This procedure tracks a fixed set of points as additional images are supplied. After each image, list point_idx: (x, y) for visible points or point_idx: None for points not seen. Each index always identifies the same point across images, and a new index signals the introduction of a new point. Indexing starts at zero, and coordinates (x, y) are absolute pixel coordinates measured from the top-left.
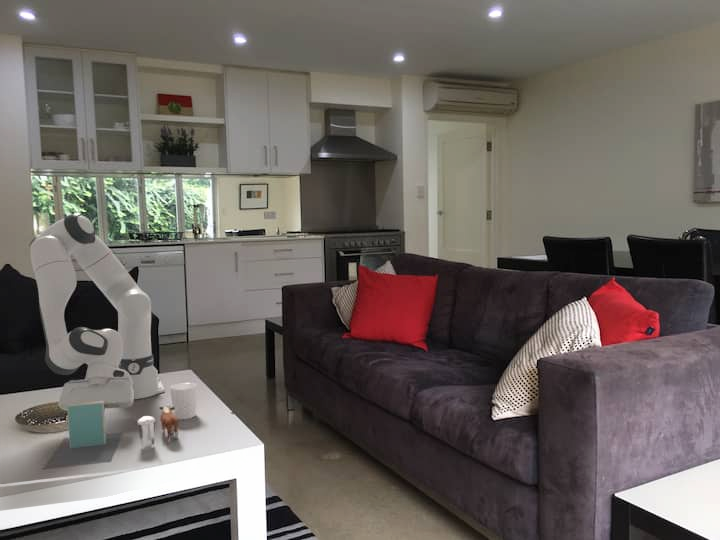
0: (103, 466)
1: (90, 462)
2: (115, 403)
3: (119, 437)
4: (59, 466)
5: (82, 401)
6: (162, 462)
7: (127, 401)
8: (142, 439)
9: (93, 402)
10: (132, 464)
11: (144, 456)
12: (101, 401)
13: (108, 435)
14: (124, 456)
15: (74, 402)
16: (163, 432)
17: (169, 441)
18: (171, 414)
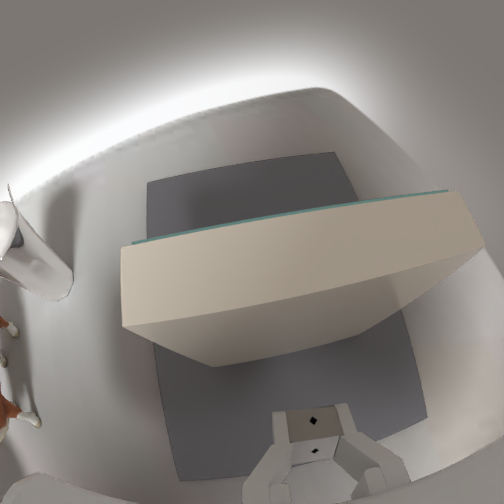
0: (166, 173)
1: (207, 178)
2: (123, 501)
3: (171, 417)
4: (295, 161)
5: (450, 488)
6: (39, 196)
7: (33, 474)
8: (45, 242)
9: (237, 264)
10: (95, 184)
11: (67, 231)
12: (141, 291)
13: (236, 453)
14: (117, 235)
15: (497, 454)
16: (28, 412)
17: (10, 322)
18: None
